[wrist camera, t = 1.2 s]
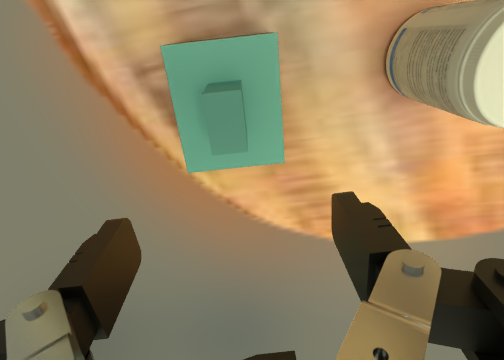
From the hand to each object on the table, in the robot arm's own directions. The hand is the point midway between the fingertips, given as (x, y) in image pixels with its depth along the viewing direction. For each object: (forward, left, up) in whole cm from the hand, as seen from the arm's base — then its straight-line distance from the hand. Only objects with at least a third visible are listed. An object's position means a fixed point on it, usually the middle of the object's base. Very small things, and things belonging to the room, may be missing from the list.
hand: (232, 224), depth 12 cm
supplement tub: (-2, +22, -26) cm, 34 cm away
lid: (0, -1, -20) cm, 21 cm away
